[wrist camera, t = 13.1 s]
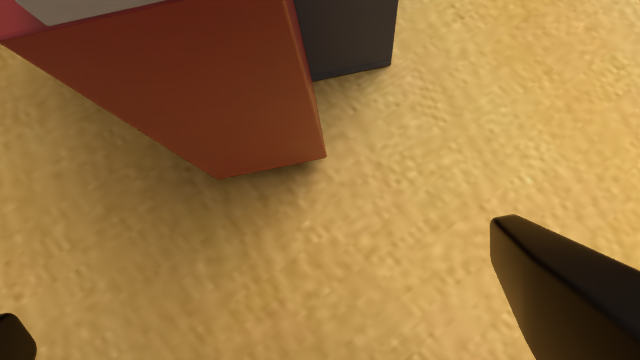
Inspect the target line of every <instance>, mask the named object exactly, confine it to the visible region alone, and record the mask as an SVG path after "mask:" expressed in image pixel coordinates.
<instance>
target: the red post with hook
mask: <svg viewBox="0 0 640 360" xmlns="http://www.w3.org/2000/svg"><path fill="white" fill-rule="evenodd" d="M0 44H2V45H3V46H5V47H6V48H8V49H10V50H11V51H13V52H14V53H16V54H18V55H19V56H21V57H22V58H24V59H26V60H27V61H29V62H30V63H32V64H34V65H35V66H37V67H38V68H40V69H42V70H43V71H45V72H46V73H48V74H50V75H51V76H53V77H54V78H56V79H58V80H59V81H61V82H62V83H64V84H66V85H67V86H69V87H70V88H72V89H73V90H75V91H77V92H78V93H80V94H81V95H83V96H85V97H86V98H88V99H89V100H91V101H93V102H94V103H96V104H97V105H99V106H101V107H102V108H104V109H105V110H107V111H109V112H110V113H112V114H113V115H115V116H117V117H118V118H120V119H121V120H123V121H125V122H126V123H128V124H129V125H131V126H133V127H134V128H136V129H137V130H139V131H141V132H142V133H144V134H145V135H147V136H149V137H150V138H152V139H153V140H155V141H156V142H158V143H160V144H161V145H163V146H164V147H166V148H168V149H169V150H171V151H172V152H174V153H176V154H177V155H179V156H180V157H182V158H184V159H185V160H187V161H188V162H190V163H192V164H193V165H195V166H196V167H198V168H200V169H201V170H203V171H204V172H206V173H208V174H209V175H211V176H212V177H214V178H216V179H223V178H228V177H233V176H238V175H243V174H248V173H253V172H257V171H262V170H267V169H272V168H277V167H282V166H287V165H292V164H297V163H302V162H307V161H312V160H317V159H322V158H325V157H326V156H327V155H326V150H325V145H324V140H323V135H322V129H321V124H320V119H319V114H318V109H317V104H316V99H315V94H314V89H313V84H312V79H311V74H310V69H309V64H308V60H307V55H306V51H305V47H304V43H303V38H302V34H301V30H300V26H299V21H298V17H297V13H296V9H295V4H294V0H0Z"/></svg>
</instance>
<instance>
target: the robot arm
mask: <svg viewBox="0 0 640 360" xmlns="http://www.w3.org/2000/svg"><path fill="white" fill-rule="evenodd" d="M490 256H491V261H492V265H493V267H494V270H495V272H496V274H497V277H498V279H499V281H500V284H501V286H502V288H503V290H504V293H505V295H506V297H507V300H508V302H509V304H510V307H511V309H512V311H513V313H514V316H515V318H516V320H517V323H518V325H519V327H520V329H521V332H522V334H523V336H524V338H525V340H526V342H527V344H528V346H529V348H530V350H531V351H532V353H533V355H534V357H535V358H536V360H640V271H639V270H637V269H634V268H632V267H630V266H628V265H626V264H623V263H621V262H619V261H617V260H615V259H612V258H610V257H608V256H606V255H604V254H601V253H599V252H597V251H595V250H593V249H590V248H588V247H586V246H584V245H582V244H579V243H577V242H575V241H573V240H571V239H568V238H566V237H564V236H562V235H560V234H557V233H555V232H553V231H551V230H549V229H546V228H544V227H542V226H540V225H538V224H535V223H533V222H531V221H529V220H527V219H524V218H522V217H520V216H518V215H514V214H512V215H506V216H501V217H496V218H493V219H492V220H491V223H490ZM36 353H37V347H36V343H35V341H34V339H33V338H32V336H31V335H30V334H29V332H28V331H27V330H26V328H25V327H24V326H23V324H22V323H21V321H20V320H19V319H18V317H17V316H15V315H14V314H12V313H4V314H0V360H35V357H36Z"/></svg>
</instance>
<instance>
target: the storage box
mask: <svg viewBox="0 0 640 360" xmlns="http://www.w3.org/2000/svg"><path fill="white" fill-rule="evenodd" d="M294 4H295V9H296V13H297V17H298V21H299V26H300V30H301V34H302V38H303V43H304V47H305V51H306V55H307V60H308V64H309V69H310V74H311V79H312V81H317V80H321V79H326V78H331V77H336V76H341V75H345V74H350V73H355V72H360V71H365V70H370V69H374V68H379V67H384V66H389V65H391V58H392V50H393V42H394V33H395V24H396V16H397V7H398V0H294Z"/></svg>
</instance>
